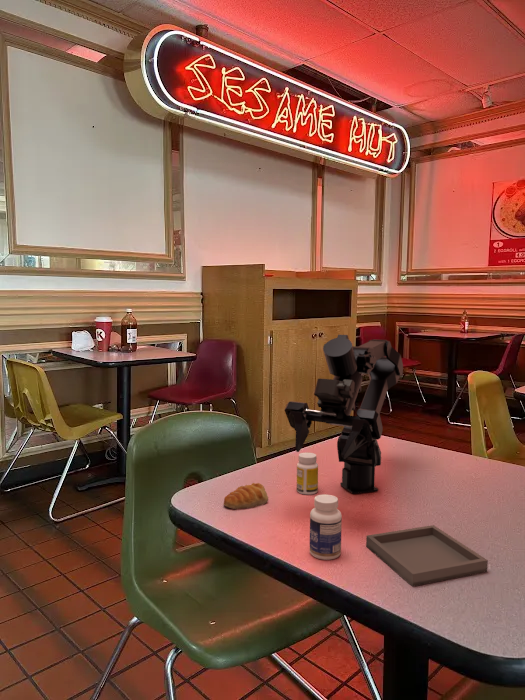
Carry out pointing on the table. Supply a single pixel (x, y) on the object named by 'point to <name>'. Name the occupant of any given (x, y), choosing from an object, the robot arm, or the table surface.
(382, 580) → the table surface
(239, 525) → the table surface
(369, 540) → the tray
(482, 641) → the table surface
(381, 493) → the table surface
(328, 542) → the pill bottle
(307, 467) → the supplement bottle
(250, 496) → the pastry
